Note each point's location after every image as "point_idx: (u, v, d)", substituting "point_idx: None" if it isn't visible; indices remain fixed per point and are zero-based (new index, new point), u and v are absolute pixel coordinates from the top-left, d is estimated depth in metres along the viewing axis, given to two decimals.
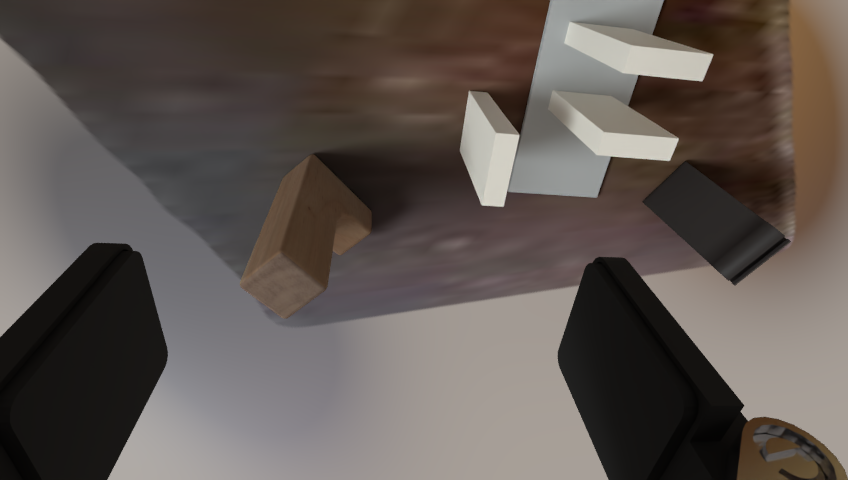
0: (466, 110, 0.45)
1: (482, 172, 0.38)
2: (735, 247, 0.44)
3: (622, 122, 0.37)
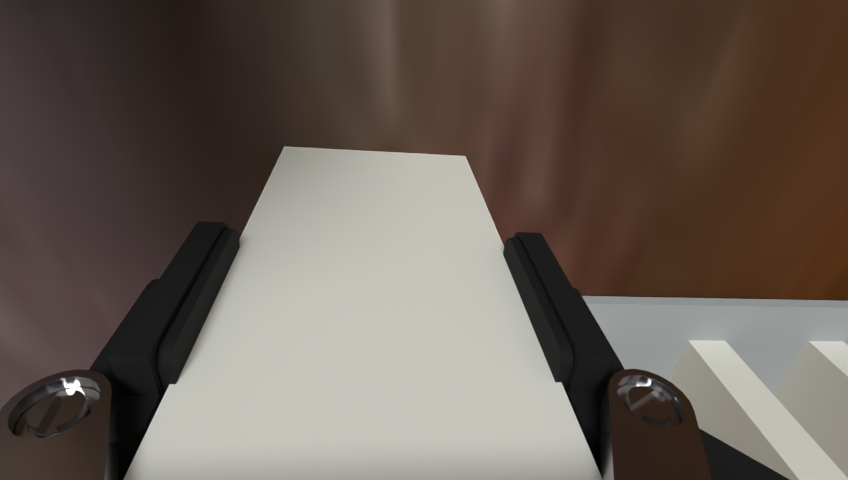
0: (412, 155, 0.15)
1: (312, 411, 0.07)
2: None
3: None
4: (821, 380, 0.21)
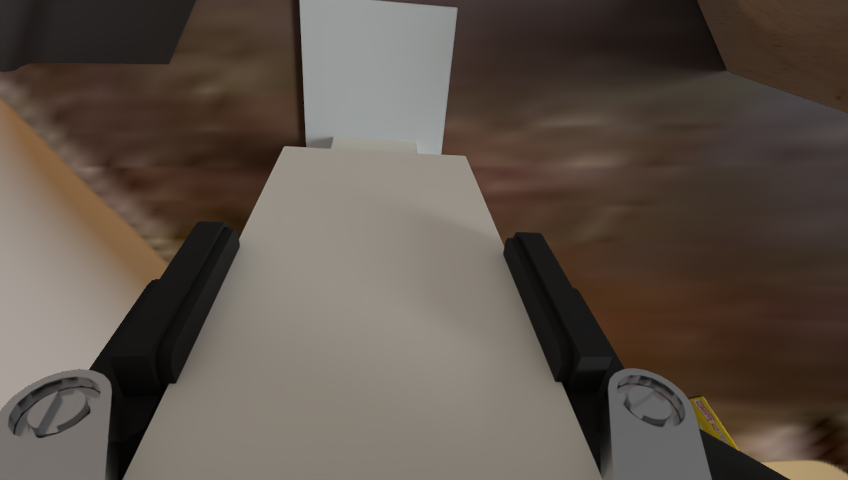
0: (412, 155, 0.15)
1: (312, 411, 0.07)
2: (34, 0, 0.20)
3: None
4: None
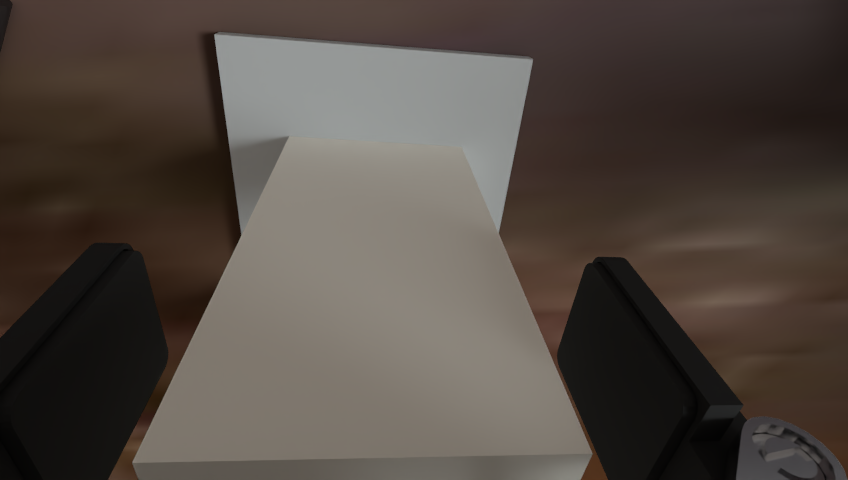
0: (410, 145, 0.16)
1: (320, 362, 0.07)
2: None
3: None
4: None
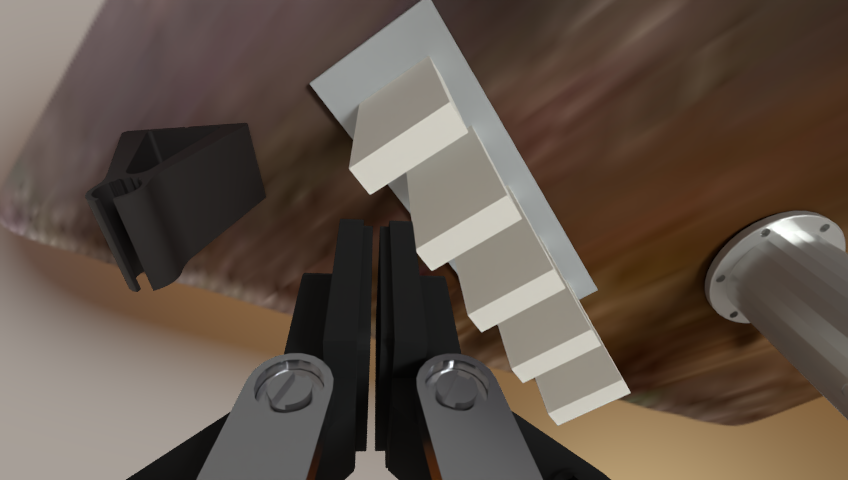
0: (407, 71, 0.33)
1: (383, 134, 0.24)
2: (161, 226, 0.27)
3: None
4: None
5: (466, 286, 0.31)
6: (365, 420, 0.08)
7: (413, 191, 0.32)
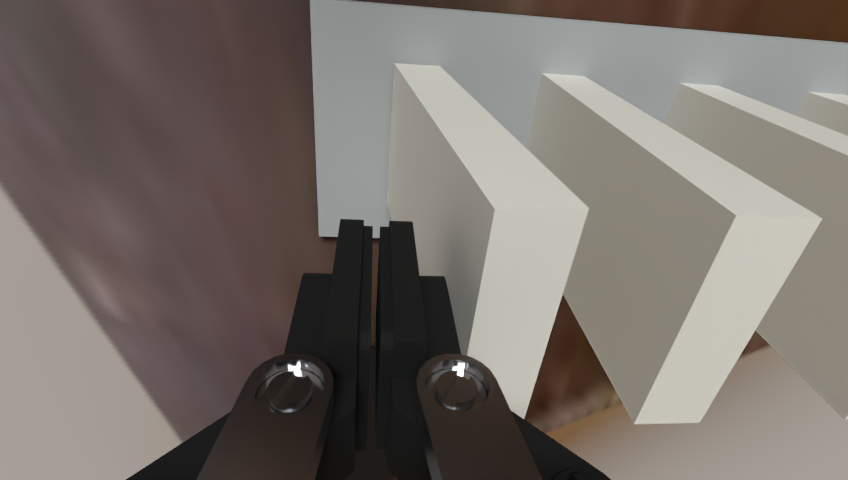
0: (392, 111, 0.19)
1: None
2: None
3: None
4: None
5: (777, 338, 0.15)
6: (365, 420, 0.08)
7: None
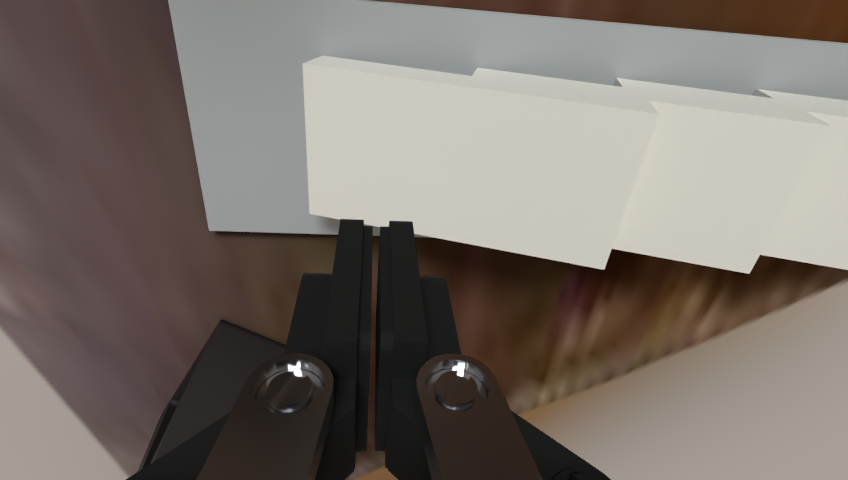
0: (309, 115, 0.17)
1: (573, 213, 0.17)
2: None
3: None
4: None
5: (811, 255, 0.19)
6: (365, 420, 0.08)
7: None
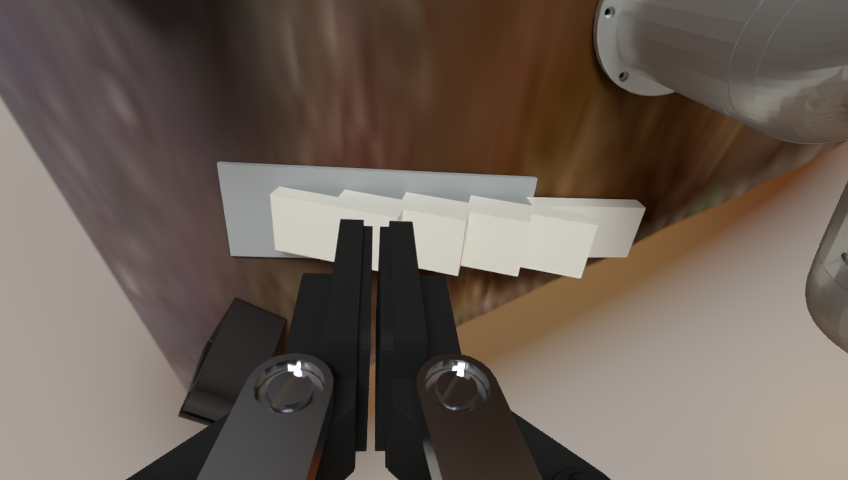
0: (273, 212, 0.43)
1: (377, 251, 0.43)
2: (220, 398, 0.44)
3: None
4: None
5: (490, 268, 0.45)
6: (365, 420, 0.08)
7: None
